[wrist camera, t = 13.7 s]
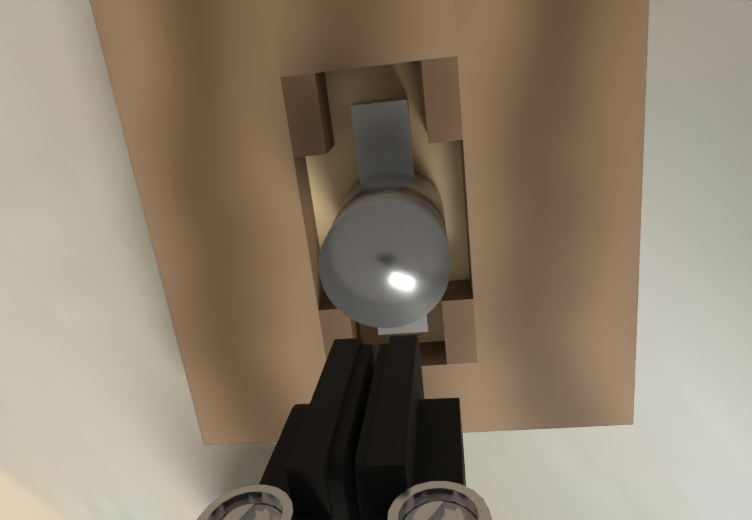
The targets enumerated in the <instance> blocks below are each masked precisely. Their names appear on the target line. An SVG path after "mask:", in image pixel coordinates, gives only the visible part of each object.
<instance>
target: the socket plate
mask: <svg viewBox="0 0 752 520" xmlns="http://www.w3.org/2000/svg"><path fill="white" fill-rule="evenodd" d="M90 3H91V7H92V11H93V15H94V19H95V23H96V27H97V31H98V34H99V38H100V42H101V46H102V50H103V54H104V58H105V62H106V66H107V69H108V73H109V77H110V81H111V85H112V89H113V93H114V97H115V101H116V104H117V108H118V112H119V116H120V120H121V124H122V128H123V132H124V136H125V140H126V143H127V147H128V151H129V155H130V159H131V163H132V167H133V171H134V175H135V178H136V182H137V186H138V190H139V194H140V198H141V202H142V206H143V210H144V214H145V217H146V221H147V225H148V229H149V233H150V237H151V241H152V245H153V249H154V252H155V256H156V260H157V264H158V268H159V272H160V276H161V280H162V284H163V288H164V291H165V295H166V299H167V303H168V307H169V311H170V315H171V319H172V323H173V326H174V330H175V334H176V338H177V342H178V346H179V350H180V354H181V358H182V362H183V365H184V369H185V373H186V377H187V381H188V385H189V389H190V393H191V397H192V400H193V404H194V408H195V412H196V416H197V420H198V424H199V428H200V432H201V435H202V439H203V443H204V445H217V444H238V443H259V442H278V439H279V437H280V435H281V432H282V430H283V428H284V425H285V423H286V421H287V418H288V416H289V414H290V411H291V409H292V408H293V406H294V405H296V404H310V401H311V399H312V396H313V394H314V391H315V388H316V386H317V383H318V381H319V378H320V375H321V373H322V370H323V367H324V365H325V362H326V360H327V357H328V354H329V352H330V349H331V347H332V344H333V341H334V340H335V339H347V338H362V339H363V342H364V345H367V344H373V347H374V352H375V360H377V355H378V351H379V346H380V344H386V343H389V339H390V336H401V335H418V339H419V347H420V357H421V367H422V377H423V387H424V397H425V399H435V398H459V399H460V410H461V422H462V433H466V432H487V431H507V430H528V429H549V428H569V427H590V426H611V425H632V424H633V415H634V388H635V361H636V334H637V308H638V281H639V254H640V227H641V201H642V174H643V147H644V120H645V94H646V67H647V40H648V14H649V0H90ZM406 96H408V101H409V112H410V123H411V134H412V145H413V156H414V167H415V170H416V171H418V172H420V173H421V174H423V175H424V176H426V177H427V178H428V179H429V180H430V181H431V182H432V183H433V185H434V186H435V187H436V189H437V190H438V192H439V194H440V196H441V199H442V203H443V208H444V215H445V224H446V232H447V241H448V249H449V258H450V277H449V282H448V285H447V288H446V291H445V293H444V295H443V297H442V298H441V300H440V302H439V303H438V304H437V305H436V306H435V308H434V309H433V310H431V311H430V312H429V313H428V332H415V333H400V334H384V335H378V327H372V326H367V325H364V324H361V323H358V322H356V321H354V320H352V319H351V318H349V317H347V316H346V315H344V314H343V313H342V312H341V311H340V310H338V309H337V308H336V306H335V305H334V304H333V303H332V302H331V300H330V299H329V298H328V296H327V294H326V292H325V291H324V288H323V286H322V283H321V280H320V275H319V266H318V265H319V255H320V250H321V247H322V244H323V241H324V239H325V237H326V235H327V234H328V232H329V230H330V228H331V226H332V224H333V222H334V220H335V218H336V216H337V214H338V212H339V210H340V209H341V207H342V205H343V203H344V201H345V199H346V197H347V195H348V193H349V191H350V189H351V188H352V186H353V185H354V184H355V182H356V181H357V180H358V179H359V173H358V165H357V157H356V149H355V141H354V132H353V124H352V116H351V108H350V106H351V105H352V104H353V103H355V102H361V101H370V100H379V99H388V98H397V97H406Z"/></svg>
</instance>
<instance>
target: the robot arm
mask: <svg viewBox="0 0 752 520" xmlns="http://www.w3.org/2000/svg"><path fill="white" fill-rule="evenodd" d="M197 520H492V517H491V514H490V511H489V509H488V507H487V505H486V503H485V501H484V499H483V498H482V497H481V496H479V495H478V494H477V493H476V492H475V491H474V490H472V489H470V488H468V487H466V479H465V463H464V449H463V435H462V422H461V410H460V399H459V398H435V399H425V397H424V387H423V377H422V367H421V357H420V347H419V339H418V335H401V336H390V339H389V343H386V344H380V346H379V351H378V355H377V360H375V352H374V347H373V344H367V345H364V342H363V339H362V338H347V339H335V340H334V341H333V344H332V347H331V349H330V352H329V354H328V357H327V360H326V362H325V365H324V367H323V370H322V373H321V375H320V378H319V381H318V383H317V386H316V388H315V391H314V394H313V396H312V399H311V401H310V404H296V405H294V406H293V408H292V409H291V411H290V414H289V416H288V418H287V421H286V423H285V425H284V428H283V430H282V432H281V435H280V437H279V439H278V442H277V444H276V446H275V449H274V451H273V453H272V456H271V458H270V460H269V463H268V465H267V467H266V470H265V472H264V474H263V477H262V479H261V481H260V484H259V485H250V486H246V487H241V488H237V489H235V490H233V491H230V492H228V493H226V494H224V495H222V496H221V497H219V498H218V499H216V500H215V501H213V502H212V503H211V504H210V505H209V506H208V507H207V508H206V509H205V510H204V511H203V512H202V513H201V515H200V516H199V517H198V519H197Z"/></svg>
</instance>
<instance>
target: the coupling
mask: <svg viewBox="0 0 752 520" xmlns="http://www.w3.org/2000/svg"><path fill="white" fill-rule="evenodd" d="M350 108H351V116H352V124H353V132H354V141H355V149H356V157H357V165H358V173H359V179H358V180H357V181H356V182H355V184H354V185H353V186H352V188H351V189H350V191H349V193H348V195H347V197H346V199H345V201H344V203H343V205H342V207H341V209H340V210H339V212H338V214H337V216H336V218H335V220H334V222H333V224H332V226H331V228H330V230H329V232H328V234H327V235H326V237H325V239H324V241H323V244H322V247H321V250H320V255H319V265H318V266H319V275H320V280H321V283H322V286H323V288H324V291H325V292H326V294H327V296H328V298H329V299H330V300H331V302H332V303H333V304H334V305H335V306H336V308H337V309H338V310H340V311H341V312H342V313H343V314H344V315H346V316H347V317H349V318H351V319H352V320H354V321H356V322H358V323H361V324H364V325H367V326H372V327H378V335H384V334H400V333H415V332H428V313H429V312H430V311H431V310H433V309H434V308H435V306H436V305H437V304H438V303H439V302H440V300H441V298H442V297H443V295H444V293H445V291H446V288H447V285H448V282H449V277H450V258H449V249H448V241H447V232H446V224H445V215H444V208H443V203H442V199H441V196H440V194H439V192H438V190H437V189H436V187H435V186H434V185H433V183H432V182H431V181H430V180H429V179H428V178H427V177H426V176H424V175H423V174H421V173H420V172H418V171H416V170H415V167H414V156H413V145H412V134H411V123H410V112H409V101H408V96H406V97H397V98H388V99H379V100H370V101H361V102H355V103H353V104H352V105H351V106H350Z"/></svg>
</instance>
